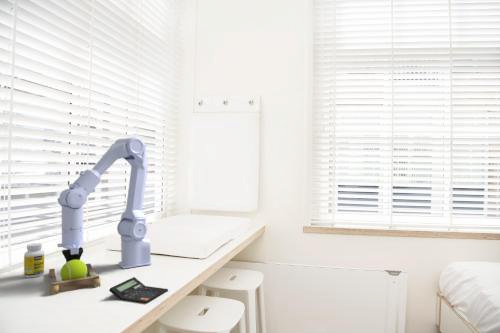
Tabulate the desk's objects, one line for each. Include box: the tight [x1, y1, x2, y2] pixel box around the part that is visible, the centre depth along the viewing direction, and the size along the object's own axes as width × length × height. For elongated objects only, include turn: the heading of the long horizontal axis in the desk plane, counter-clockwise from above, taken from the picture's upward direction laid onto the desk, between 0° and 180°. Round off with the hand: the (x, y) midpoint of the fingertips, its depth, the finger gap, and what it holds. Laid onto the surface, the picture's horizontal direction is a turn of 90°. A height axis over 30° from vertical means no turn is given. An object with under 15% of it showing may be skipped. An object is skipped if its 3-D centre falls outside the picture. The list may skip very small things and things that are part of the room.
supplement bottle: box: [23, 242, 45, 279], centre depth 109 cm, size 5×5×10 cm
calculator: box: [108, 276, 169, 305], centre depth 92 cm, size 9×12×3 cm
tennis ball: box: [59, 259, 88, 281], centre depth 101 cm, size 7×7×7 cm
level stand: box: [48, 263, 101, 296], centre depth 104 cm, size 12×22×2 cm, turn 32°
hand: (72, 273), depth 105 cm, fingers closed
